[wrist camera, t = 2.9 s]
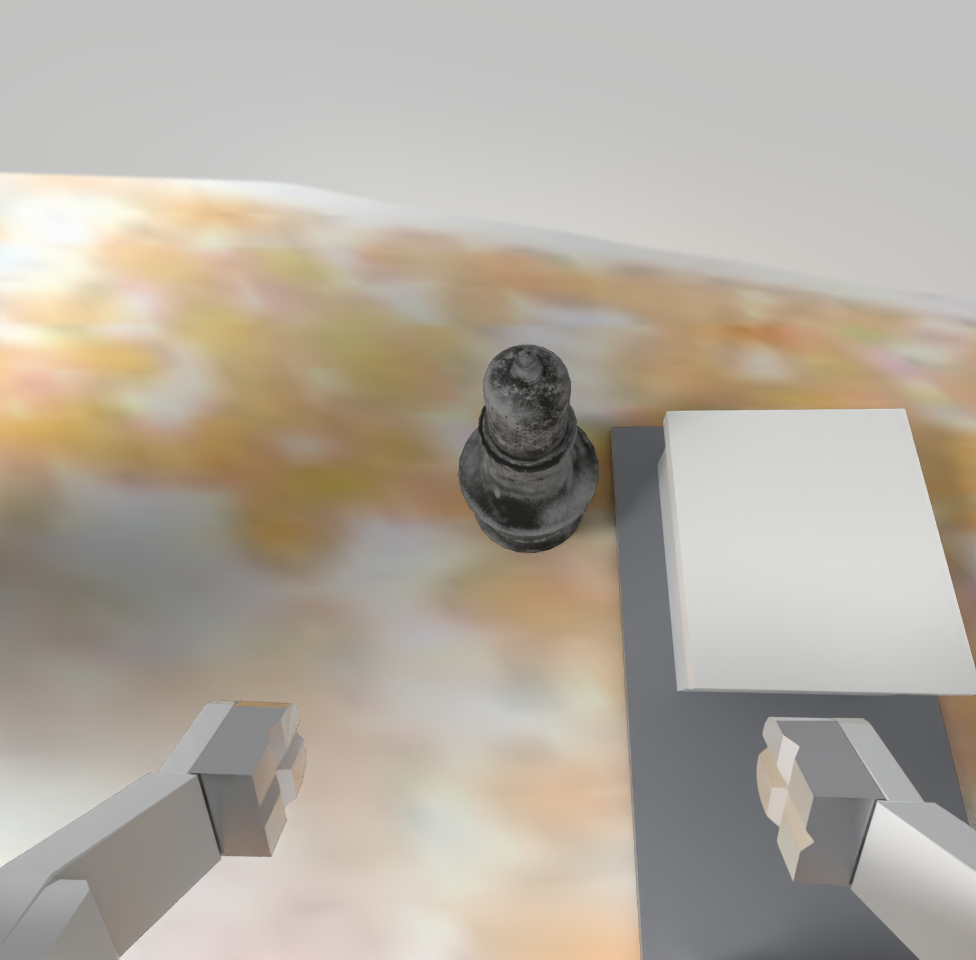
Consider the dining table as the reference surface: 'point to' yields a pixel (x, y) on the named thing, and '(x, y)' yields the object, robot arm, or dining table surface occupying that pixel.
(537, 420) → the dark grey upright figurine
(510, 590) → the dining table surface
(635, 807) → the grey mounting plate
